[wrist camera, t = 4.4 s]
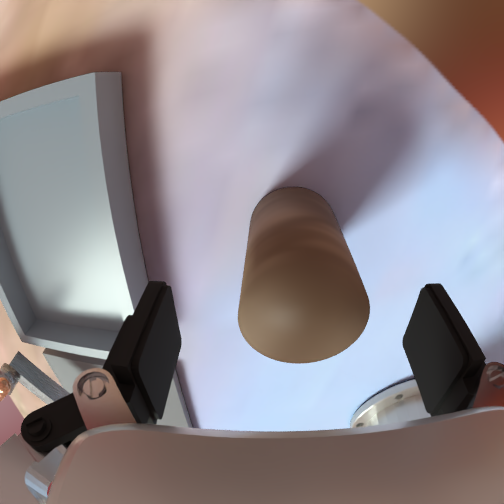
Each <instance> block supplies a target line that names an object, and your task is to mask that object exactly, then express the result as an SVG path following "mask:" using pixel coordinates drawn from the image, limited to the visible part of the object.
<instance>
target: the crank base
mask: <svg viewBox="0 0 504 504" xmlns="http://www.w3.org/2000/svg"><path fill="white" fill-rule="evenodd" d="M43 355H44V356H45V358H46V360H47V362H48V363H49V365H50V367H51V369H52V370H53V372H54V374H55V375H56V377H57V378H58V380H59V382H60V383H61V385H62V386H63V388H64V389H65V390H66V391H68V392H69V393H70V394H71V393H73V383H74V381H75V379H76V378H77V377H78V376H79V375H80V374H81V373H82V372H84V371H86V370H88V369H92V368H100V369H102V368H103V365H104V363H105V361H106V359H100V358H94V357H89V356H84V355H78V354H73V353H68V352H63V351H59V350H54V349H50V348H46V349H45V350H44V352H43ZM156 425H168V426H178V427H188V428H193V427H192V424H191V421H190V417H189V414H188V411H187V408H186V404H185V401H184V398H183V394H182V391H181V387H180V384H179V380H178V377H177V373H176V369H175V371H174V375H173V379H172V382H171V386H170V390H169V394H168V398H167V402H166V406H165V410H164V414H163V417H162V419H161V420H159V419H157V423H156Z"/></svg>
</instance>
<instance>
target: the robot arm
mask: <svg viewBox="0 0 504 504" xmlns="http://www.w3.org/2000/svg"><path fill="white" fill-rule="evenodd" d="M403 348H404V350H405V353H406V355H407V358H408V361H409V363H410V366H411V369H412V371H413V374H414V377H415V379H413V380H409V381H407V382H404V383H401V384H398V385H396V386H393V387H391V388H389V389H387V390H385V391H383V392H381V393H379V394H377V395H376V396H374V397H373V398H371V399H370V400H368V401H367V402H366V403H364V404H363V405H362V406H361V407H360V408H359V409H358V410H357V411H356V412H355V414H354V415H353V417H352V419H351V421H350V428H347V429H334V430H318V431H287V432H260V431H231V430H215V429H200V428H188V427H178V426H168V425H156V423H157V419H159V420H161V419H162V417H163V414H164V410H165V406H166V402H167V398H168V394H169V390H170V386H171V382H172V379H173V375H174V371H175V367H176V363H177V360H178V356H179V352H180V349H181V335H180V330H179V326H178V321H177V316H176V311H175V306H174V301H173V295H172V290H171V287H170V286H166V283H165V282H162V281H149V282H148V284H147V286H146V288H145V290H144V292H143V294H142V296H141V298H140V300H139V303H138V305H137V307H136V309H135V311H134V313H133V315H128V316H127V317H126V319H125V320H124V322H123V325H122V327H121V329H120V331H119V333H118V335H117V337H116V339H115V341H114V344H113V346H112V348H111V350H110V352H109V354H108V357H107V359H106V361H105V363H104V365H103V368H102V369H100V368H92V369H88V370H86V371H84V372H82V373H81V374H80V375H79V376H78V377H77V378H76V379H75V381H74V383H73V393H71V394H69V395H67V396H65V397H63V398H60V399H58V400H56V401H54V402H52V403H50V404H48V405H46V406H44V407H42V408H40V409H38V410H36V411H33V412H32V413H30V414H29V415H27V416H26V418H25V419H24V420H23V423H22V426H21V433H20V434H19V435H18V436H17V435H16V434H14V435H12V436H11V437H10V438H9V439H8V440H7V441H6V442H4V443H3V444H2V445H1V446H0V504H504V365H503V364H501V363H498V362H491V363H488V364H487V365H486V364H485V362H484V361H485V359H486V358H485V356H484V354H483V352H482V350H481V349H480V347H479V345H478V343H477V341H476V340H475V338H474V336H473V334H472V333H471V331H470V329H469V328H468V326H467V324H466V323H465V321H464V319H463V318H462V316H461V314H460V313H459V311H458V309H457V308H456V306H455V305H454V303H453V301H452V300H451V298H450V297H449V295H448V294H447V292H446V291H445V289H444V288H443V286H442V285H441V284H439V283H438V284H426V285H425V287H424V288H422V289H421V291H420V294H419V297H418V300H417V303H416V305H415V308H414V311H413V314H412V316H411V319H410V322H409V324H408V327H407V329H406V332H405V334H404V337H403ZM54 475H55V476H54ZM52 481H53V482H52ZM51 482H52V485H51V489H50V492H49V495H48V496H47V489H48V486H49V485H50V483H51Z"/></svg>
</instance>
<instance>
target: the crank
mask: <svg viewBox="0 0 504 504" xmlns="http://www.w3.org/2000/svg"><path fill="white" fill-rule="evenodd" d="M18 381H19V382H20V383H21V384H22V385H23V386H25V387H26V388H27V389H28V390H30V391H31V392H32V393H33V394H35V395H36V396H37V397H38V398H40V399H41V400H42V401H44V402H45V403H46V404H50V403H52V402H54V401H56V400H58V399H60V398H63V397H65V396H67V395H69V394H70V393H69V392H68V391H66V390H65V389H64V388H62V387H61V386H60V385H58V384H57V383H56V382H55V381H53V380H52V379H51V378H49V377H48V376H47V375H46V374H45V373H43V372H42V371H41V370H40V369H38V368H37V367H36V366H35V365H34V364H33V363H31V362H30V361H29V360H28V359H27V358H26V357H25V356H23V355H22V354H21V353H20V352H19V351H18V352H17V354H16V355H15V357H14V358H13V360H12V361H11V363H10V364H9V365H8V364H6V363H4V364H3V365H2V367H1V368H0V401H2V400H3V399H4V397H5V396H6V395H7V394H8V395H10V394H11V393H12V391H13V389H14V388H15V386H16V384H17V382H18Z"/></svg>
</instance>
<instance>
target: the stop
mask: <svg viewBox="0 0 504 504" xmlns="http://www.w3.org/2000/svg"><path fill="white" fill-rule="evenodd" d="M369 314H370V304H369V299H368V296H367V293H366V290H365V288H364V285H363V283H362V280H361V277H360V275H359V272H358V270H357V267H356V265H355V263H354V260H353V258H352V255H351V253H350V250H349V248H348V246H347V243H346V241H345V239H344V236H343V234H342V232H341V229H340V227H339V225H338V223H337V220H336V218H335V216H334V214H333V211H332V209H331V207H330V206H329V204H328V203H327V202H326V200H325V199H324V198H322V197H321V196H320V195H319V194H317V193H315V192H313V191H311V190H309V189H306V188H301V187H287V188H282V189H278V190H276V191H273V192H272V193H270V194H268V195H267V196H265V197H264V198H263V199H262V200H261V201H260V202H259V203H258V205H257V206H256V208H255V209H254V211H253V214H252V217H251V221H250V228H249V236H248V243H247V250H246V258H245V265H244V272H243V280H242V287H241V295H240V302H239V310H238V323H239V328H240V331H241V333H242V335H243V337H244V338H245V340H246V341H247V342H248V344H249V345H250V346H251V347H252V348H254V349H255V350H256V351H258V352H259V353H261V354H262V355H264V356H267V357H269V358H271V359H274V360H277V361H281V362H287V363H311V362H316V361H321V360H324V359H327V358H330V357H332V356H335V355H337V354H339V353H340V352H342V351H344V350H345V349H347V348H348V347H349V346H350V345H352V344H353V343H354V342H355V341H356V340H357V339H358V338H359V336H360V335H361V334H362V332H363V331H364V329H365V327H366V325H367V322H368V319H369Z"/></svg>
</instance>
